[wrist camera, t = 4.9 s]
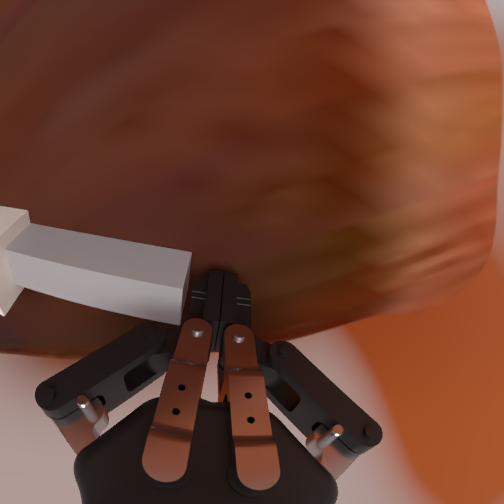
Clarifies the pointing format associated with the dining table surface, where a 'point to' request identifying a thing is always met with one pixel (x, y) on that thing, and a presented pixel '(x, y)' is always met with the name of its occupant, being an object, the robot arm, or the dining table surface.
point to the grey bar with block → (91, 269)
